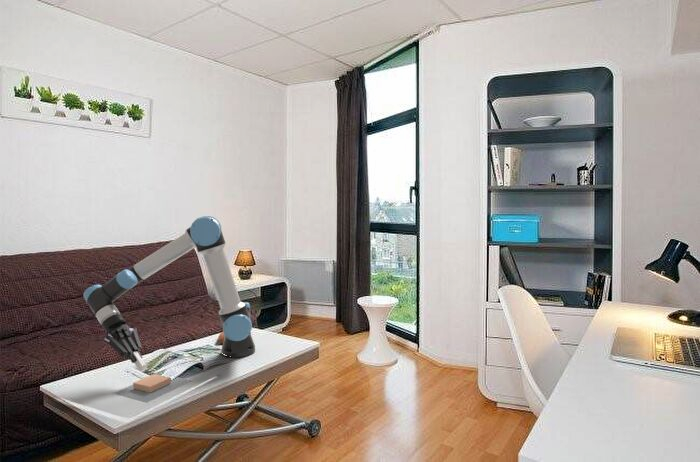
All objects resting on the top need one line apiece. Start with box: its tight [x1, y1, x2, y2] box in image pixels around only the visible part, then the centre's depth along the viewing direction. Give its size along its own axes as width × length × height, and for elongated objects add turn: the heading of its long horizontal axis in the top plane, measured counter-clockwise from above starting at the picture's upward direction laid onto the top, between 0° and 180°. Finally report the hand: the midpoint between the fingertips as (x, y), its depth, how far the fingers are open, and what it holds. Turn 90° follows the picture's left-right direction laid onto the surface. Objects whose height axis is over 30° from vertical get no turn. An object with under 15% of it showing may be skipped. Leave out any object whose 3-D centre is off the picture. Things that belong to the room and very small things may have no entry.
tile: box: [132, 373, 171, 393], centre depth 158 cm, size 2×9×9 cm
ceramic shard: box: [217, 331, 225, 346], centre depth 217 cm, size 15×6×15 cm
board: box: [113, 376, 193, 403], centre depth 158 cm, size 18×20×1 cm
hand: (142, 367), depth 160 cm, fingers closed
